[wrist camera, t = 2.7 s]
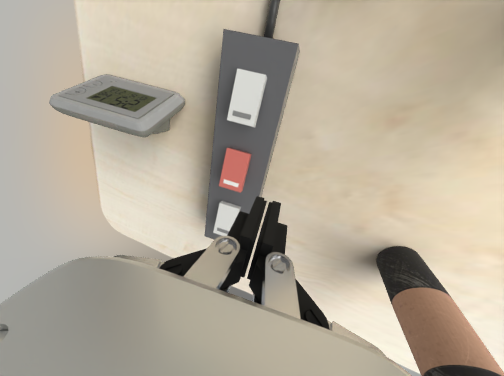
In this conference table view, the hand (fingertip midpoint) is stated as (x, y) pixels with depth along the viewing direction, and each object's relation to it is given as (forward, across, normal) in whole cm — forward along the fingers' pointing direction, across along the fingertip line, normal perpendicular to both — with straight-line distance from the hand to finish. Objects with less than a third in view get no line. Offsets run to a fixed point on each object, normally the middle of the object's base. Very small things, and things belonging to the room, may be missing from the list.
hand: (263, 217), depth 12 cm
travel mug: (+21, -27, +16) cm, 38 cm away
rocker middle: (+16, +6, +5) cm, 18 cm away
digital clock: (+22, +26, -1) cm, 34 cm away
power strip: (+21, +6, +2) cm, 22 cm away
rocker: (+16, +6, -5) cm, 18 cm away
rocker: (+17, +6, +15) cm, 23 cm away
